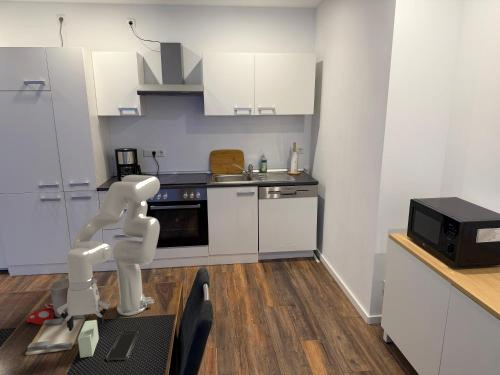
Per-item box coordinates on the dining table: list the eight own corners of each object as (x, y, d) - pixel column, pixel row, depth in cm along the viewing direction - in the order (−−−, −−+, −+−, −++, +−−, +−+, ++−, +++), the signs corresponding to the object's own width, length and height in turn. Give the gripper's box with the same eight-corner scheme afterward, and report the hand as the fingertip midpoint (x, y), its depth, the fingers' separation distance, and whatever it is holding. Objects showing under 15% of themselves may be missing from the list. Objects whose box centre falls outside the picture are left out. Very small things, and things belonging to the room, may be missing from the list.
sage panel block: (98, 338, 129) (96, 319, 128) (92, 356, 120) (90, 336, 118) (87, 339, 128) (85, 321, 127) (80, 357, 119) (77, 338, 117)
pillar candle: (80, 303, 153) (76, 273, 150) (78, 315, 144) (73, 283, 141) (56, 308, 150) (51, 277, 146) (52, 320, 141) (46, 288, 137)
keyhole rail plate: (85, 319, 141) (84, 314, 141) (71, 349, 123) (70, 343, 123) (46, 323, 138) (45, 318, 138) (26, 355, 120) (25, 349, 120)
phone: (139, 331, 132) (127, 358, 117) (139, 334, 132) (127, 361, 117) (119, 332, 132) (104, 359, 117) (119, 334, 132) (104, 362, 117)
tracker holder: (55, 319, 140) (27, 322, 134) (54, 328, 141) (25, 330, 135) (55, 300, 149) (29, 301, 144) (54, 308, 150) (27, 310, 145)
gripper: (109, 276, 124) (113, 318, 127) (58, 280, 120) (63, 324, 123) (105, 285, 116) (109, 330, 120) (50, 290, 113) (56, 336, 116)
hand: (85, 327), depth 121 cm, fingers open, 9 cm apart
